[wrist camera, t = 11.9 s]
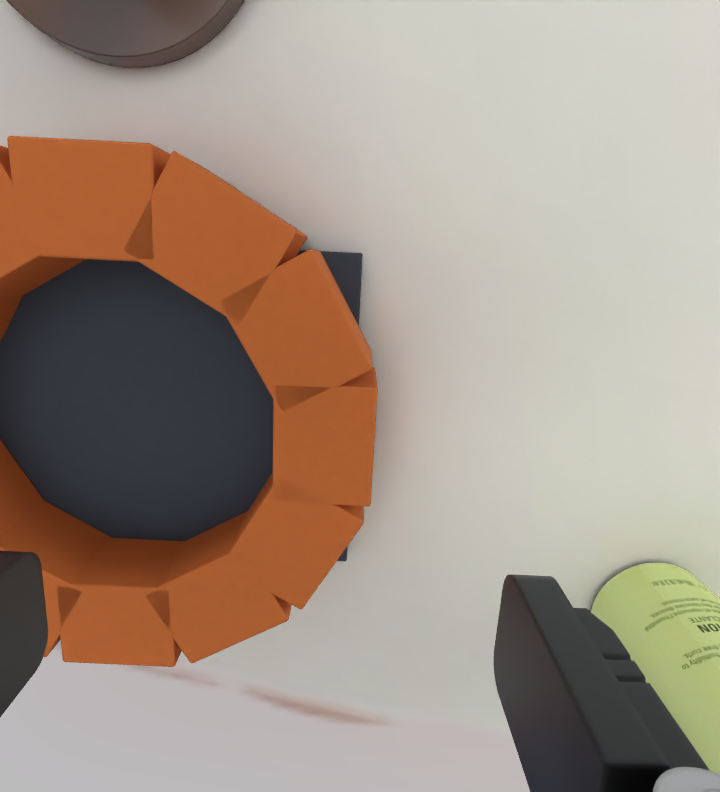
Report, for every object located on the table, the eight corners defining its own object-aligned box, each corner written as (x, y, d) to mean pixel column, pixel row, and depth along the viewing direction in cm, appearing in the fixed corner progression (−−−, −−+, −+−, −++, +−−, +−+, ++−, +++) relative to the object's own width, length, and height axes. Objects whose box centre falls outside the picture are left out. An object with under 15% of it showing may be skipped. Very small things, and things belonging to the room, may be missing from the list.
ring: (-57, 598, 22) (-126, 654, 19) (-133, 145, 18) (-237, 122, 15) (360, 617, 22) (360, 676, 19) (386, 173, 18) (391, 155, 15)
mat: (-43, 534, 22) (-54, 542, 21) (-89, 229, 19) (-104, 228, 18) (346, 553, 22) (346, 561, 22) (362, 253, 19) (362, 253, 18)
